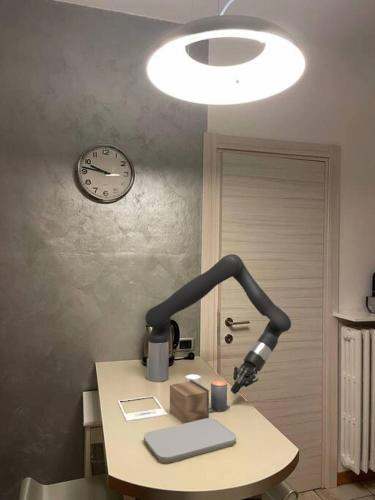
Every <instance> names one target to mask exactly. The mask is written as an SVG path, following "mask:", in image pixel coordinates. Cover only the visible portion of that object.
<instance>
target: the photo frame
mask: <svg viewBox="0 0 375 500" xmlns="http://www.w3.org/2000/svg"><path fill="white" fill-rule="evenodd" d="M150 397H151V398H153V400H154V402H155V403H156V405H157V406H158V407H159V408H156V409H150V410H143V411H136V412H131V413H129V412H128V413H126V412H125V410H124V408H123V405H122V403H121V402H120V401H123V402H129V401H128V400H130V401H136V400H143V398H144V399H151V398H150ZM117 404H118V406H119V408H120V410H121V413H122V415H123V417H124V419H125V421H126V423H130V422H137V421H142V420H147V419H148V420H149V419H155V418H161V417H167V416H168V413H167V412H166V410H165V409H164V407H163V406H162V405H161V403H160V402H159V401H158V399H157V398H156V397H155V395H150V396H144V397H143V396H142V397H136V398H129V399H123V400H117Z"/></svg>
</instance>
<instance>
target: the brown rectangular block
mask: <svg viewBox="0 0 375 500" xmlns="http://www.w3.org/2000/svg"><path fill="white" fill-rule="evenodd" d="M209 406H210V389H208V388H207V387H205V386H203V385H202V384H201V385H200V384H198V383H197V382H195V381H193V380H192V379H190V381H188V382H185V381H183V382H179V383H175V384H169V413H170V414H171V415H172V416H173V417H174V418H175V419H177V420H178V421H179V422H180V423H181V424H184V423H188V422H193V421H197V420H201V419H206V418H210V414H213V413H216V412H217V413H218V412H220V411H222V410H215V409H212V408H211V407H209ZM228 409H231V406H229V405H228V404H227V408H226V409H224V410H228Z"/></svg>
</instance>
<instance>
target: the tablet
mask: <svg viewBox="0 0 375 500" xmlns="http://www.w3.org/2000/svg"><path fill="white" fill-rule="evenodd" d="M236 439H237V435H236V434H235V432H233V431H232V430H231V429H230V428H228V427H227V426H226V425H224V424H223V423H222V422H220V421H219V420H218V419H215V418H212V417H209V418H206V419H201V420H197V421H193V422H188V423H184V424H183V423H180V424H176V425H172V426H168V427H163V428H158V429H154V430H151V431H147V432H145V433H144V435H143V440H144V442H145V444H146V445H147V447H148V448H149V449H150V450H151V452H152V453H153V454H154V455H155V457H156V458H157V460H158V461H160V462H161V463H164V464H165V463H166V464H168V463H172V462H177V461H180V460H183V459H187V458H191V457H194V456H198V455H202V454H204V453H209V452H212V451H215V450H220V449H223V448H227V447H230V446H232V445H233V444H234V443H235V441H236Z"/></svg>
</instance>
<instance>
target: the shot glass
mask: <svg viewBox="0 0 375 500" xmlns="http://www.w3.org/2000/svg"><path fill="white" fill-rule="evenodd" d="M184 379H185V380H184V382H188V381H190V379H192V380H193V381H195V382H197V383H198V384H200V385H202V375H200V374H198V373H197V374H196V373H194V374H193V373H191V374H186V375H185V376H184Z"/></svg>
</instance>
